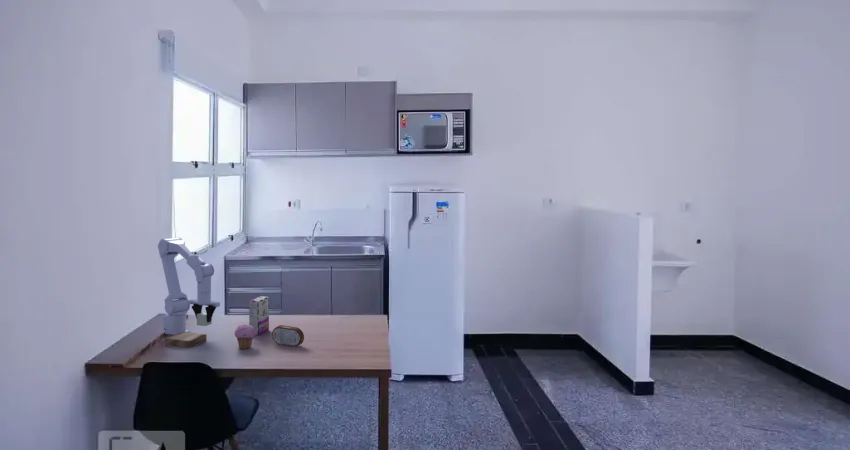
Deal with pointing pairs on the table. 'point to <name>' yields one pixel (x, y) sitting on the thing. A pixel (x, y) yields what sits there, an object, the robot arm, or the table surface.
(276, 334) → the tin
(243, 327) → the cupcake
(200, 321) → the sage block
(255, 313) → the candy bar box
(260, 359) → the table surface
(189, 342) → the brown flat block
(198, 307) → the robot arm
